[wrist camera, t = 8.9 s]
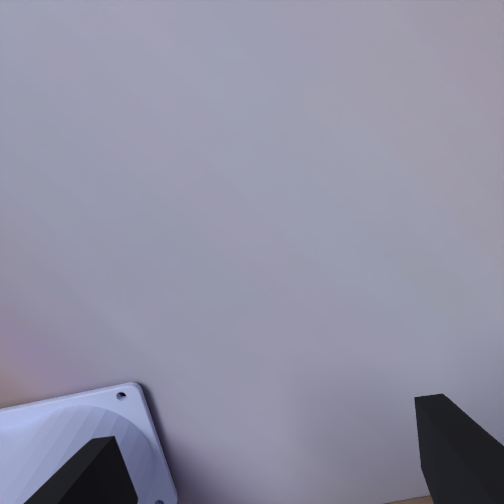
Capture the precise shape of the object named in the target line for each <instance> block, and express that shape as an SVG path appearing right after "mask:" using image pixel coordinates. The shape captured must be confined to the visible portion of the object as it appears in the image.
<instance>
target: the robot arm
mask: <svg viewBox="0 0 504 504" xmlns="http://www.w3.org/2000/svg"><path fill="white" fill-rule="evenodd" d="M119 392H123V393H125V394H126V396H121V395H120V394H119ZM414 398H415V409H416V419H417V429H418V439H419V450H420V460H421V469H422V472H423V474H424V477H425V480H426V483H427V486H428V489H429V492H430V494H431V497H432V500H433V503H434V504H504V446H503V445H502V444H501V443H499V442H498V441H497V440H496V439H495V438H493V437H492V436H491V435H490V434H489V433H488V432H486V431H485V430H484V429H483V428H482V427H481V426H479V425H478V424H477V423H476V422H475V421H474V420H472V419H471V418H470V417H469V416H468V415H467V414H466V413H465V412H463V411H462V410H461V409H460V408H459V407H458V406H457V405H456V404H454V403H453V402H452V401H451V400H450V399H449V398H448V397H446V396H445V395H444V394H436V395H429V396H421V397H414ZM158 500H161V501H158ZM177 501H178V494H177V491H176V488H175V485H174V482H173V479H172V477H171V474H170V471H169V468H168V465H167V462H166V459H165V456H164V453H163V450H162V447H161V444H160V441H159V438H158V435H157V432H156V429H155V426H154V423H153V420H152V417H151V414H150V411H149V408H148V405H147V402H146V400H145V397H144V394H143V391H142V388H141V386H140V385H139V384H137V383H134V382H129V383H124V384H119V385H115V386H110V387H105V388H100V389H95V390H90V391H85V392H80V393H76V394H71V395H66V396H61V397H56V398H51V399H46V400H41V401H37V402H32V403H27V404H22V405H17V406H12V407H7V408H2V409H0V504H177Z"/></svg>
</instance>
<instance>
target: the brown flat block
mask: <svg viewBox="0 0 504 504" xmlns="http://www.w3.org/2000/svg"><path fill="white" fill-rule="evenodd" d="M387 504H434V503H433V500H432V497H431V496H426V497H420V498H415V499H409V500H404V501H398V502H393V503H387Z"/></svg>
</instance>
